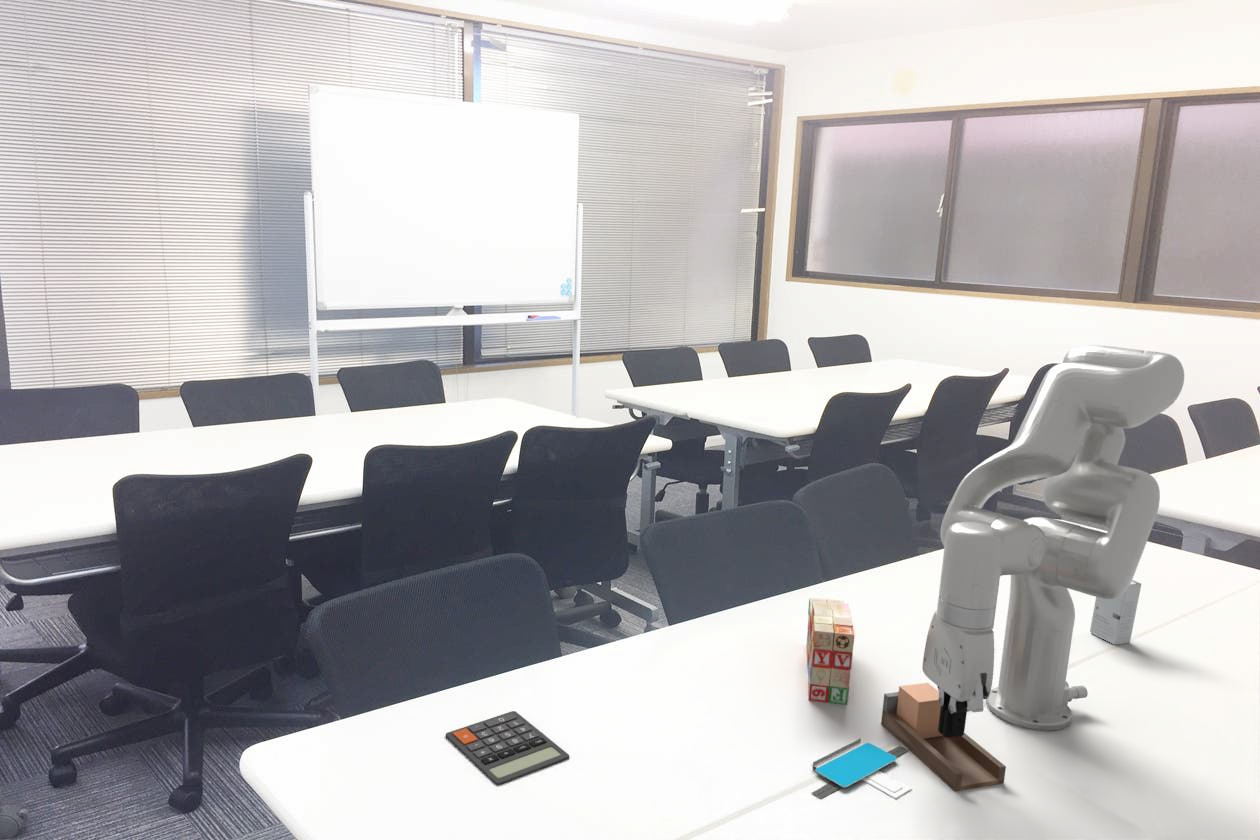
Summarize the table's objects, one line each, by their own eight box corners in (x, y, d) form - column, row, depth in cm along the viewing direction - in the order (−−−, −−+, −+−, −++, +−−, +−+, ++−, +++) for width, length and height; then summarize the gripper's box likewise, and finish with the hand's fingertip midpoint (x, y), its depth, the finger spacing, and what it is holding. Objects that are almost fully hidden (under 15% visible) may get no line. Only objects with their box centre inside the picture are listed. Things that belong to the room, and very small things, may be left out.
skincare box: (1088, 633, 179) (1097, 573, 177) (1105, 630, 181) (1114, 571, 179) (1115, 646, 174) (1125, 585, 171) (1132, 643, 176) (1142, 582, 173)
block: (923, 718, 143) (927, 682, 142) (943, 735, 138) (948, 698, 137) (895, 722, 141) (899, 686, 140) (914, 739, 137) (918, 702, 135)
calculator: (514, 709, 141) (570, 754, 130) (514, 714, 141) (570, 760, 130) (444, 732, 134) (497, 782, 123) (444, 738, 134) (497, 788, 123)
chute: (926, 717, 145) (929, 688, 144) (1003, 782, 128) (1008, 749, 127) (881, 723, 142) (884, 693, 141) (954, 791, 125) (958, 757, 125)
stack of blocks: (805, 645, 169) (810, 581, 167) (840, 648, 168) (846, 584, 166) (808, 701, 149) (814, 629, 146) (848, 706, 148) (855, 633, 145)
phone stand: (856, 825, 118) (858, 814, 118) (785, 782, 127) (786, 770, 127) (944, 773, 131) (946, 762, 130) (874, 736, 140) (875, 726, 139)
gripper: (911, 593, 134) (898, 710, 138) (975, 636, 120) (959, 765, 124) (956, 590, 136) (942, 706, 140) (1024, 632, 122) (1007, 759, 126)
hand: (950, 733), depth 132 cm, fingers closed
